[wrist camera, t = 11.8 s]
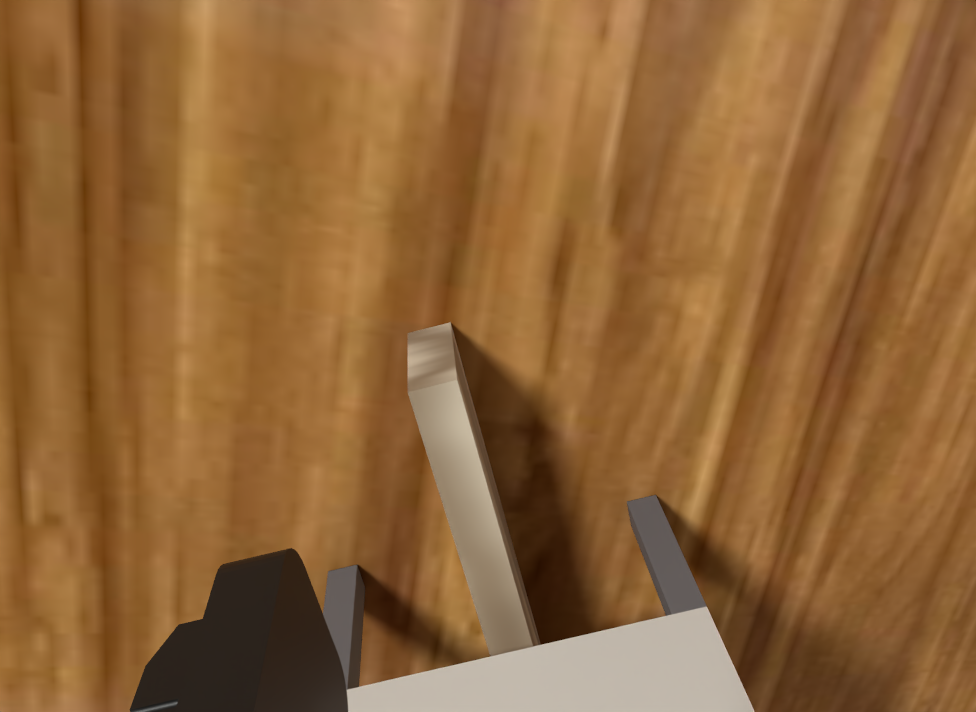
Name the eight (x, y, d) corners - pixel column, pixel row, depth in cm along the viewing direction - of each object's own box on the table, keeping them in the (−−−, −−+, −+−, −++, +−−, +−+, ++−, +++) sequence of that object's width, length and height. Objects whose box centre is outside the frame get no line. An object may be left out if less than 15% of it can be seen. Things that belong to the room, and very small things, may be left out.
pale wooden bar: (504, 308, 41) (518, 364, 35) (599, 686, 51) (621, 775, 45) (354, 346, 41) (346, 407, 36) (477, 716, 51) (486, 808, 45)
